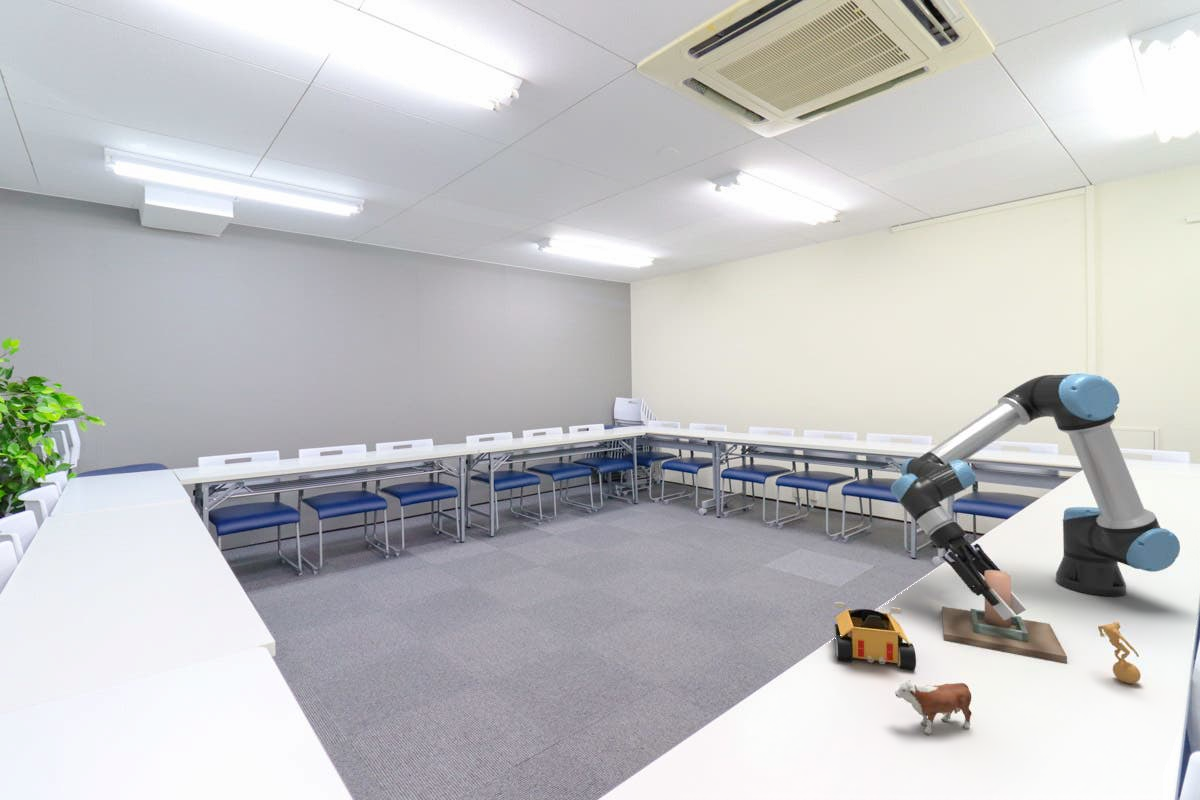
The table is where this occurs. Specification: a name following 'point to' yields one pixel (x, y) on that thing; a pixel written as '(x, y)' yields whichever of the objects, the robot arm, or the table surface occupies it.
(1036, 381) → the robot arm
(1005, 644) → the jig board
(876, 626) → the race car
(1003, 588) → the pink rounded cylinder
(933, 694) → the bull figurine
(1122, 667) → the figurine
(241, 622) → the table surface
